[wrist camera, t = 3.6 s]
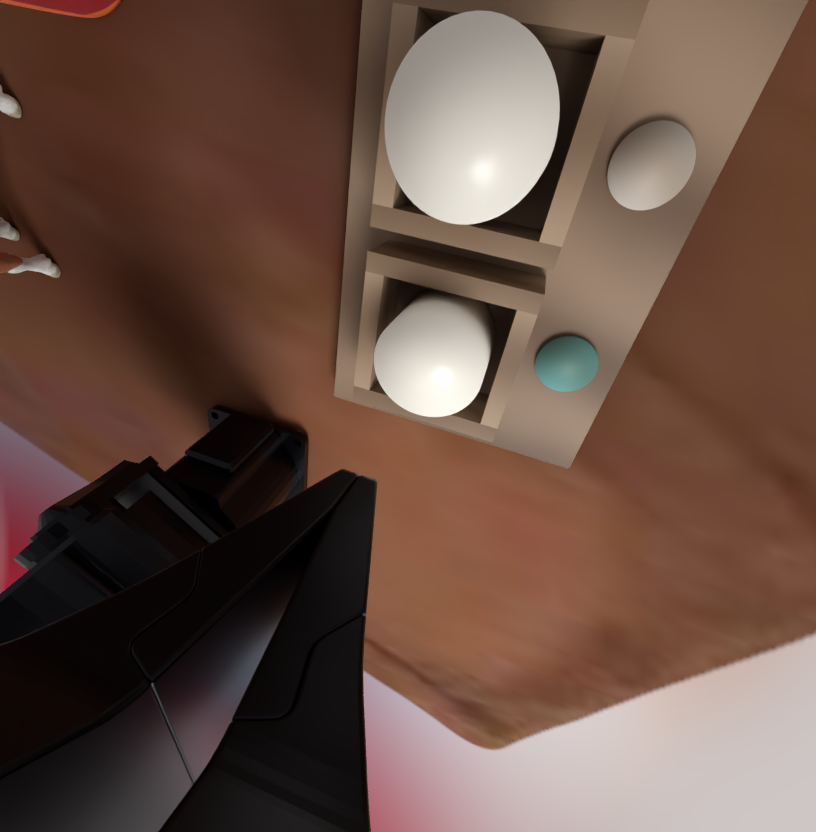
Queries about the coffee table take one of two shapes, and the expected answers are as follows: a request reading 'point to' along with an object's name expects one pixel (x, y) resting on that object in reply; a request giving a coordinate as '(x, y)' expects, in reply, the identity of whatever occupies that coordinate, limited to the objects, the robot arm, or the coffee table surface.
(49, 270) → the bull figurine
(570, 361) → the board
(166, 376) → the coffee table surface
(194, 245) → the coffee table surface
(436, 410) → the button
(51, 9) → the paper cup
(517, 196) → the button mid
